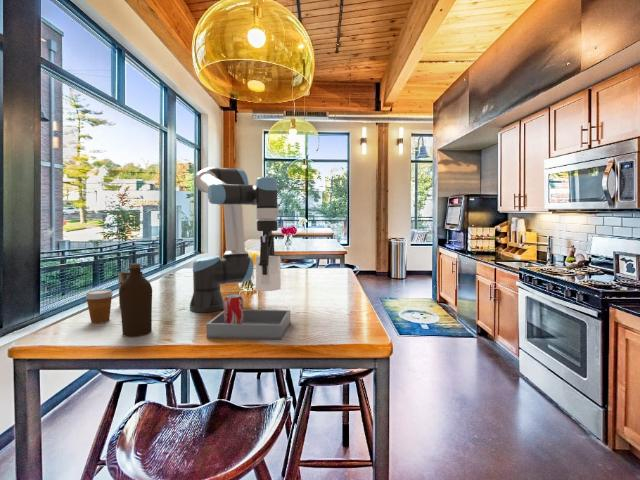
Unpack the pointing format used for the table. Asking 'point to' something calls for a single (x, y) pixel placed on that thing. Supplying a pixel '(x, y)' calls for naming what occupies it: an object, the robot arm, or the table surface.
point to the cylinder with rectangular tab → (273, 274)
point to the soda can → (233, 309)
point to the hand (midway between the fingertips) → (268, 281)
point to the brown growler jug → (136, 304)
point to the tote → (251, 325)
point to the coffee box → (123, 278)
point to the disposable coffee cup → (99, 305)
